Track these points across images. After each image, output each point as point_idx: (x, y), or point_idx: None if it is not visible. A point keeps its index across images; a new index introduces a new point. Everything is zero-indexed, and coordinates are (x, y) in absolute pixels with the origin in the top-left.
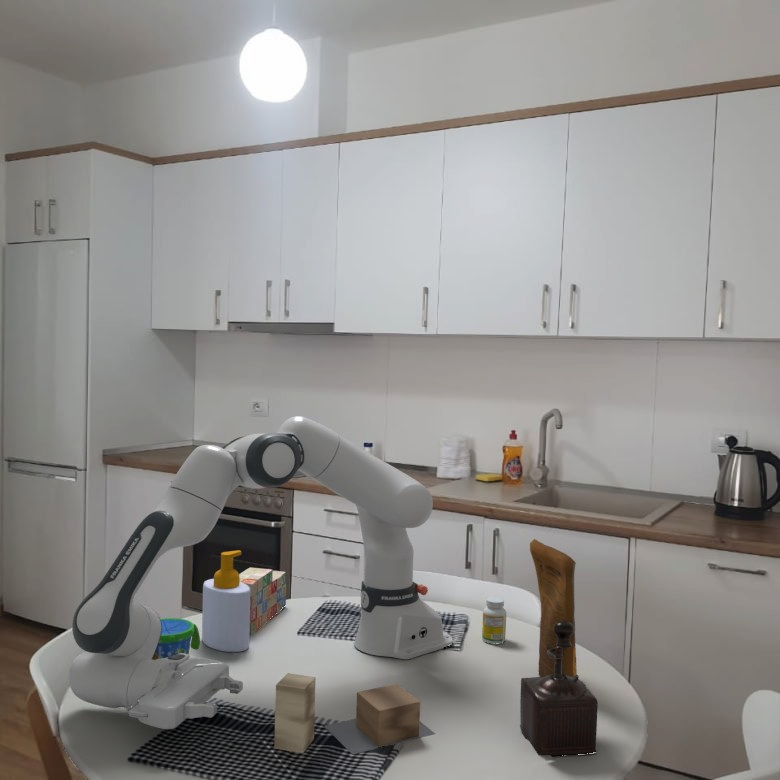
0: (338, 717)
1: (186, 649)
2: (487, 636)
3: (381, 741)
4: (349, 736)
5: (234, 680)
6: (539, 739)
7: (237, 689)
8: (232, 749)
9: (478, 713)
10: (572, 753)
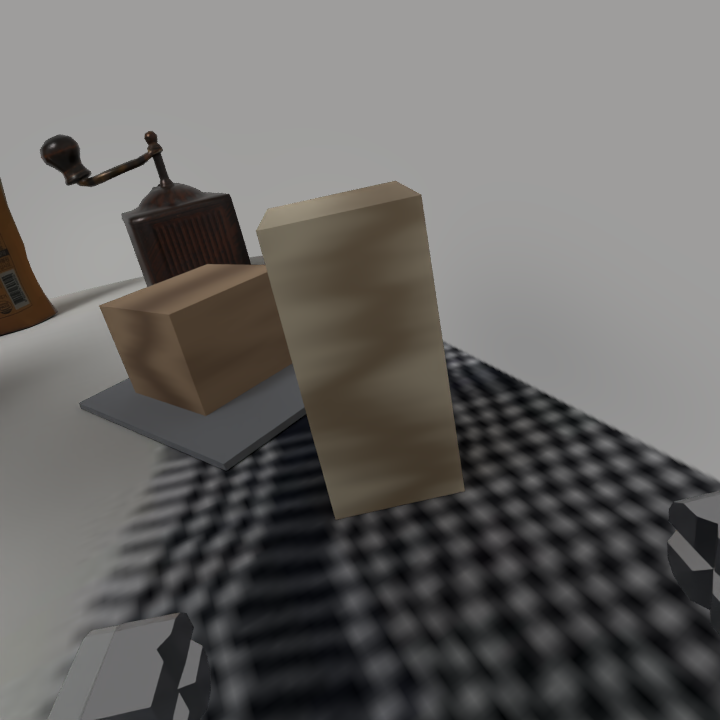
0: (134, 480)
1: None
2: None
3: None
4: (276, 399)
5: (63, 709)
6: (247, 252)
7: (191, 658)
8: (599, 629)
9: (104, 344)
10: None
